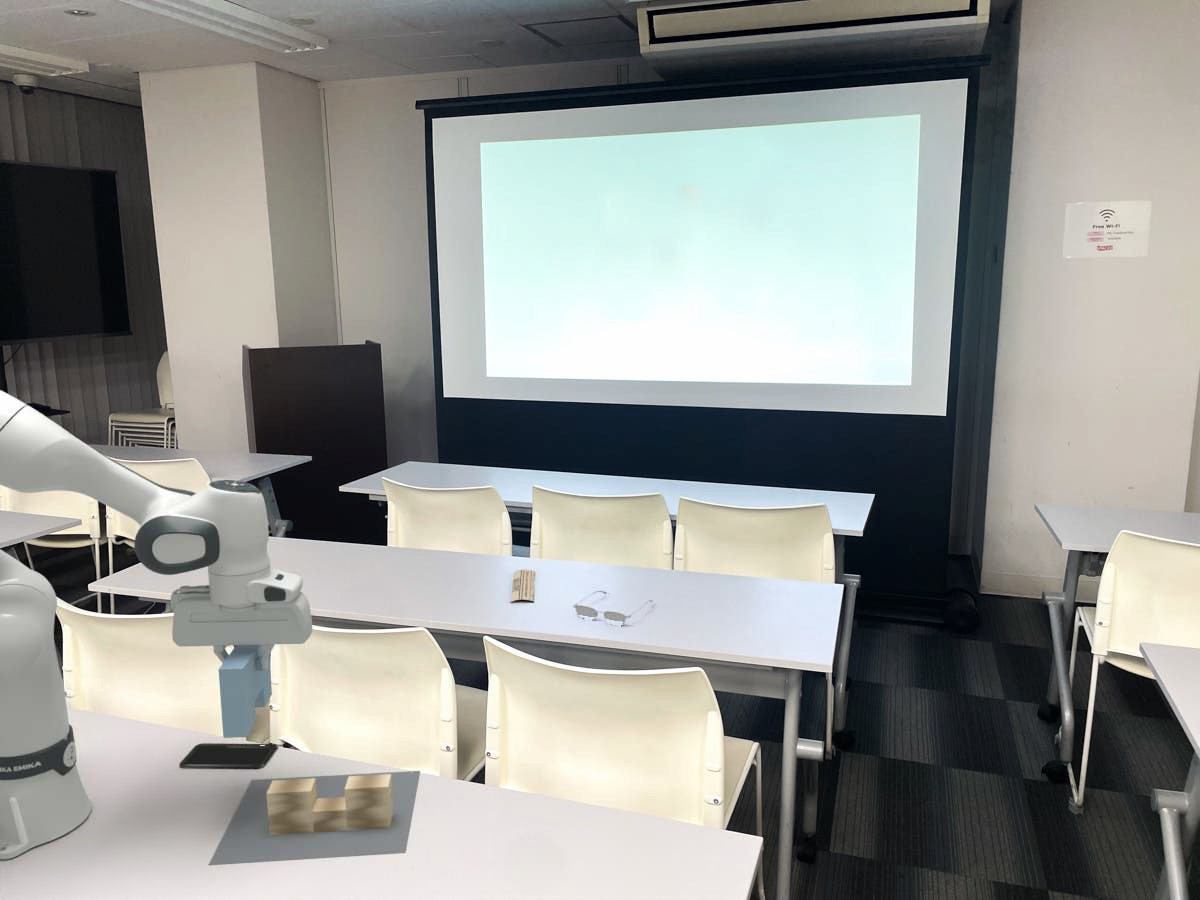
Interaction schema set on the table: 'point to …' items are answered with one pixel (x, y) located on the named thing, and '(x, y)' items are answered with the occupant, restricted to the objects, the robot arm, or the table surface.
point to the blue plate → (242, 690)
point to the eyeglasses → (608, 614)
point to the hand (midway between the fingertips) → (245, 669)
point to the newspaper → (523, 585)
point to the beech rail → (330, 806)
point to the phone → (228, 756)
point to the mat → (255, 843)
